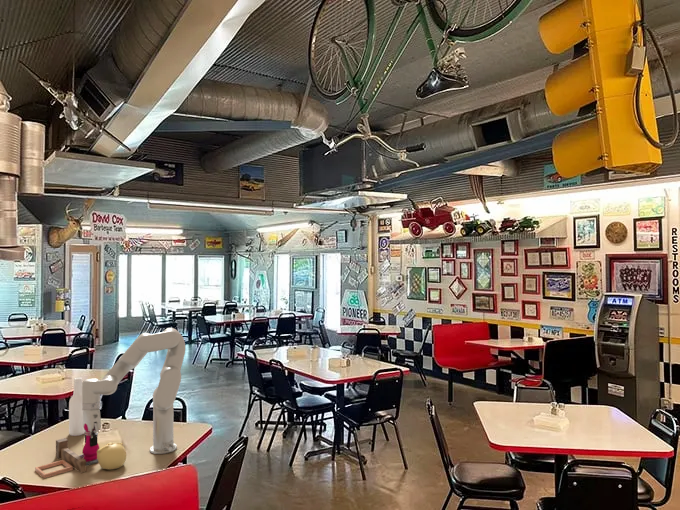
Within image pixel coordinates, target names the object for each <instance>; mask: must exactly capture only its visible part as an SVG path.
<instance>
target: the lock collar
mask: <svg viewBox="0 0 680 510" xmlns="http://www.w3.org/2000/svg"><path fill="white" fill-rule="evenodd" d="M59 465H63V466H64V468H61V469H57V470H55V471H51V472H46V473H45V472H44V471H43V470H45V469H49V468H52V467H56V466H59ZM73 470H74V468H73V466H71V465H70V464H69V463H67V462H66V461H64V460H62V459H59V460H58V461H54V462H49V463H45V464H44V465H43V464H42V465H39V466H35V467H34V471H35V472H36V473H37V474H38V475H40V477H42V478H43V479H47V478H50V477H54V476H56V475H60V474H64V473H67V472H70V471H73ZM46 477H47V478H46Z"/></svg>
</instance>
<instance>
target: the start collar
mask: <svg viewBox="0 0 680 510" xmlns="http://www.w3.org/2000/svg"><path fill="white" fill-rule="evenodd" d="M78 455H79V456H80V457H82V458H83V459H84V456H85V455H84V454H83V453H82V454H78ZM97 463H98V464H99V462H98V459H95V460H91V461H88V462H86V467H88V466H91V465H94V464H97Z"/></svg>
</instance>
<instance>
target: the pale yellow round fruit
mask: <svg viewBox="0 0 680 510" xmlns="http://www.w3.org/2000/svg"><path fill="white" fill-rule="evenodd" d="M123 444H124V443H122V442H108V443H106V444H104V446H102V447H99V449H98V450H97V459H98V464H99V467H100V468H101V469H103V470H115V469H118V468H121V467H122V466H124V464H125V463H126V460H127V450H126V448H125V447H124V445H123Z"/></svg>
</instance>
